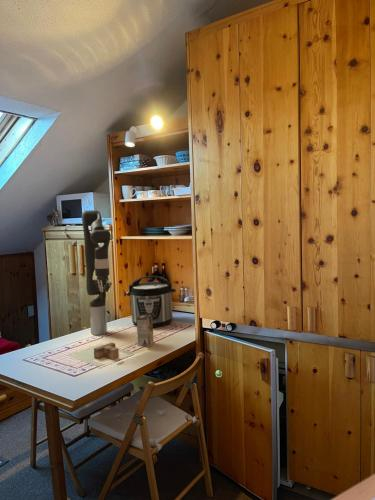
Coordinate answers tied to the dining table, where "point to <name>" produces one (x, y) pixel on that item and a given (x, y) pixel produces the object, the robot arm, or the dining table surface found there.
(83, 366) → the dining table surface
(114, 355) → the t block
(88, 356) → the board
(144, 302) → the pressure cooker
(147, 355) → the dining table surface
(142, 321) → the coffee box
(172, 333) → the dining table surface
